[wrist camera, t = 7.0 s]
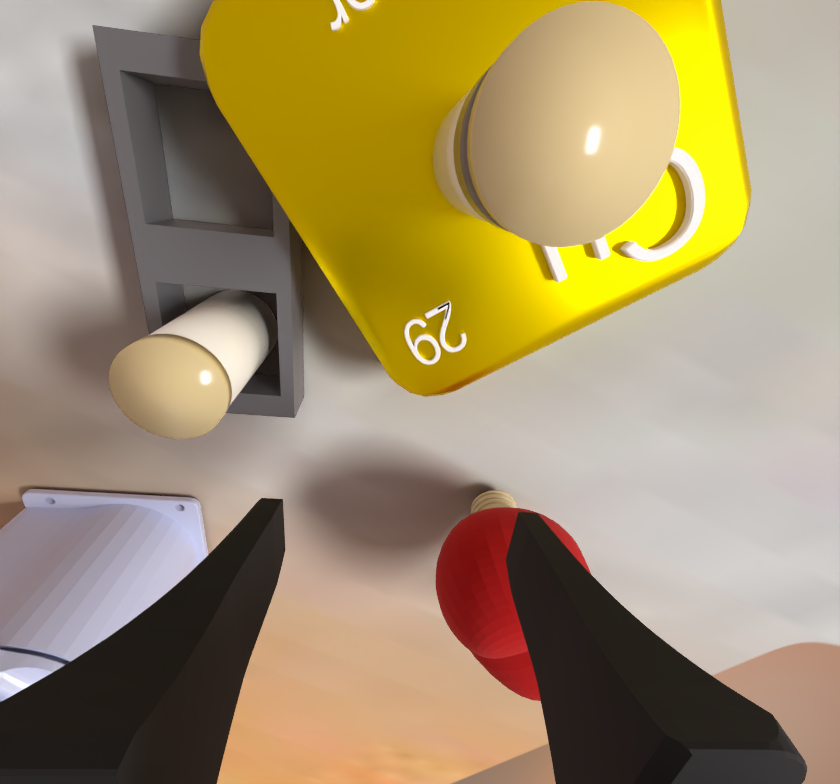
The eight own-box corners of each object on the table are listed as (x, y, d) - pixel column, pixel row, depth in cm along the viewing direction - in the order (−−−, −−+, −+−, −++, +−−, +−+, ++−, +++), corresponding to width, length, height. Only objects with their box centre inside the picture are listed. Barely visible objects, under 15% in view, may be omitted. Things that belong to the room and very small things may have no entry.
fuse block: (184, 387, 22) (163, 408, 20) (131, 44, 16) (92, 25, 14) (304, 396, 22) (294, 417, 20) (298, 67, 16) (284, 51, 14)
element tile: (594, -211, 14) (683, -392, 9) (693, 229, 20) (775, 243, 15) (219, 62, 16) (155, 21, 12) (410, 374, 22) (412, 421, 18)
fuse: (204, 359, 21) (121, 435, 15) (194, 284, 20) (96, 335, 13) (280, 365, 21) (230, 442, 15) (277, 292, 20) (219, 344, 14)
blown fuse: (424, 212, 14) (457, 235, 8) (439, 79, 13) (495, -20, 6) (529, 225, 15) (638, 257, 9) (556, 98, 13) (714, 23, 7)
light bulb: (399, 471, 25) (398, 638, 16) (507, 414, 23) (574, 562, 14) (475, 566, 28) (509, 745, 19) (573, 522, 27) (658, 693, 18)
